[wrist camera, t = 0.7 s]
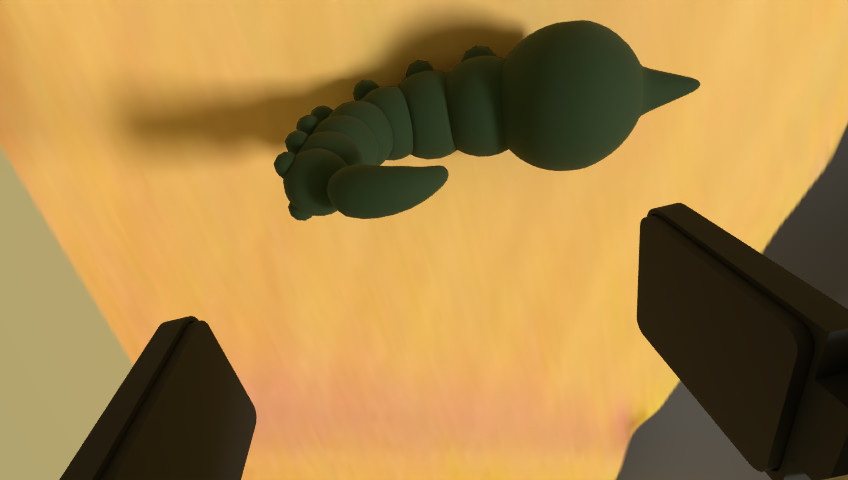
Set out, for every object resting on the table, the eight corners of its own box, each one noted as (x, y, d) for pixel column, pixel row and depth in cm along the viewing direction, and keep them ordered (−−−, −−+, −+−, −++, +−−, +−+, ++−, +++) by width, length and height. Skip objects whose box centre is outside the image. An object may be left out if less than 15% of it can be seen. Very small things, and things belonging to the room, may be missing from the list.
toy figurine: (345, 172, 39) (636, 125, 37) (292, 303, 22) (814, 228, 21) (315, 57, 34) (645, -2, 33) (222, 115, 18) (880, 1, 16)
